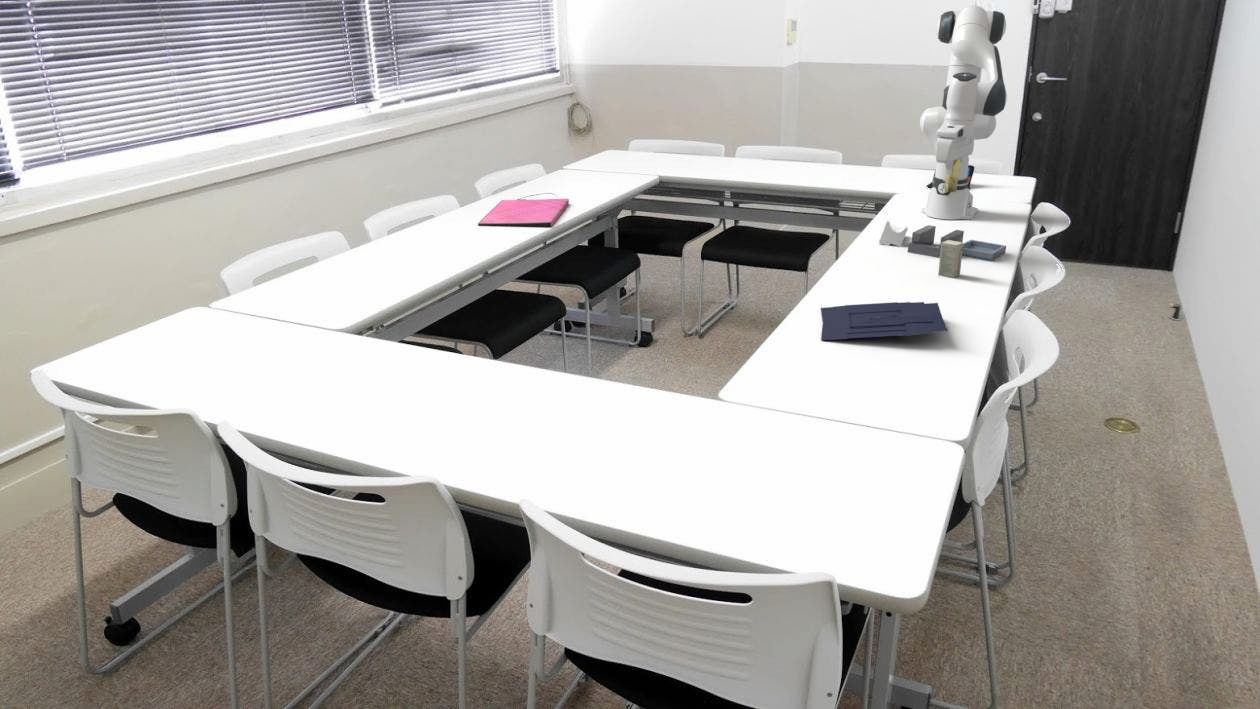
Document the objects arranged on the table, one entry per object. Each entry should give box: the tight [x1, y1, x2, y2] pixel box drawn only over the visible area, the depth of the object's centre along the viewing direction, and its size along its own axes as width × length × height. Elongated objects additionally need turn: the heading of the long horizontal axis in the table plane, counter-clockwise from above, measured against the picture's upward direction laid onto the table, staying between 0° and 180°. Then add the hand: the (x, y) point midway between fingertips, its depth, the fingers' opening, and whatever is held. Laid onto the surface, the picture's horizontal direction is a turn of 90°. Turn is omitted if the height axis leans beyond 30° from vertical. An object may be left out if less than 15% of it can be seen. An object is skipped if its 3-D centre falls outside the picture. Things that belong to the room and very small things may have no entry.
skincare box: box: [937, 240, 964, 278], centre depth 272 cm, size 5×4×10 cm
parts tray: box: [962, 239, 1007, 262], centre depth 293 cm, size 12×12×2 cm
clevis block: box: [907, 224, 965, 259], centre depth 296 cm, size 14×12×6 cm
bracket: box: [878, 219, 909, 247], centre depth 308 cm, size 13×7×8 cm, turn 161°
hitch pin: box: [944, 157, 961, 192], centre depth 288 cm, size 4×4×12 cm
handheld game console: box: [926, 164, 975, 190], centre depth 380 cm, size 16×13×9 cm
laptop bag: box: [477, 192, 570, 228], centre depth 349 cm, size 40×4×27 cm
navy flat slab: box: [820, 301, 949, 341], centre depth 234 cm, size 24×30×4 cm
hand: (952, 173), depth 288 cm, fingers closed on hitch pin, 4 cm apart
